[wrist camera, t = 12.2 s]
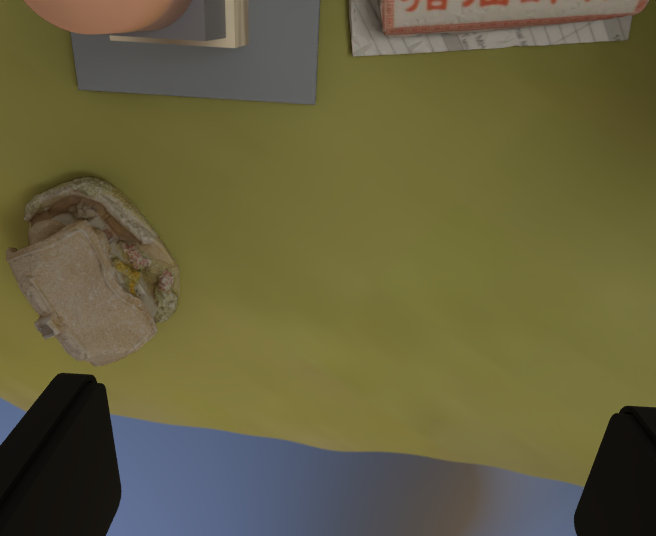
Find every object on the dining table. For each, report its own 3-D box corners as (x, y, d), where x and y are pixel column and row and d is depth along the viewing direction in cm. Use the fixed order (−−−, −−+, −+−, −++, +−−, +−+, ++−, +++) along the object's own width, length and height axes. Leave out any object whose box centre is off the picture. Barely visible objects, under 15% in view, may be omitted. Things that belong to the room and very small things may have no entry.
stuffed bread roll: (206, 314, 44) (172, 390, 35) (91, 350, 46) (30, 431, 37) (124, 158, 38) (58, 200, 29) (-4, 206, 40) (-103, 259, 31)
